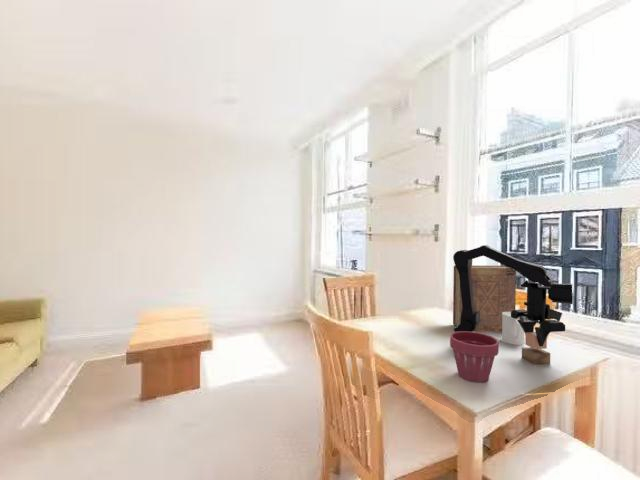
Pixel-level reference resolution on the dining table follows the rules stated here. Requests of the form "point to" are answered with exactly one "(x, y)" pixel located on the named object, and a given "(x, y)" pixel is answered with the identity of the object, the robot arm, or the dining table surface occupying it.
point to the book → (487, 295)
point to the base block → (536, 356)
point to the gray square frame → (532, 364)
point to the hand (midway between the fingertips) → (535, 343)
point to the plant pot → (474, 354)
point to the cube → (533, 341)
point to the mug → (511, 330)
